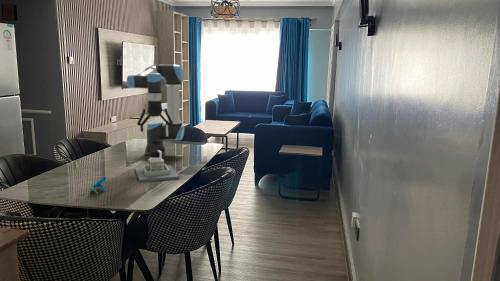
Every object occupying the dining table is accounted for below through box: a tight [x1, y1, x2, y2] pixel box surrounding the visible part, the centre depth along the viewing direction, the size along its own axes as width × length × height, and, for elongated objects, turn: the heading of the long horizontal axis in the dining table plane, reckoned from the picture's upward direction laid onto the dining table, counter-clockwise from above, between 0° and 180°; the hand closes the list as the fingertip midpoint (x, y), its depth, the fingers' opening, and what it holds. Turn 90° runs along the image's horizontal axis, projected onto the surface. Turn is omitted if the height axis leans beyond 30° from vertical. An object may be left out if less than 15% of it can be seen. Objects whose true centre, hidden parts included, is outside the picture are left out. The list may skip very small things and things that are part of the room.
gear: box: [89, 176, 107, 195], centre depth 195 cm, size 11×6×10 cm
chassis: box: [134, 163, 180, 183], centre depth 228 cm, size 26×22×4 cm
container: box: [147, 150, 165, 171], centre depth 226 cm, size 8×8×13 cm
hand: (155, 136), depth 224 cm, fingers open, 13 cm apart
